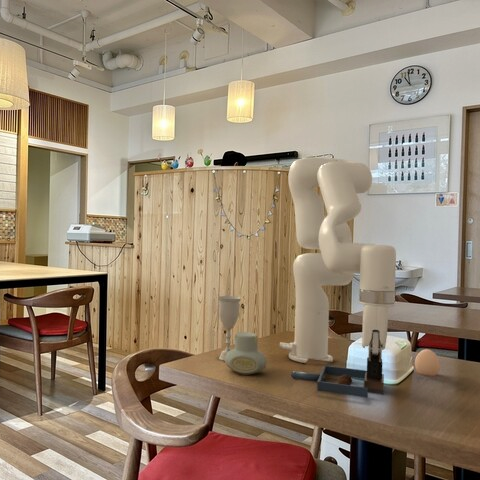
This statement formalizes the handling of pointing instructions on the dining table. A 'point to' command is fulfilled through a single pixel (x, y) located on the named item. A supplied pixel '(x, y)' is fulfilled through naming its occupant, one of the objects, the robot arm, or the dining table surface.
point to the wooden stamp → (374, 385)
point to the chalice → (228, 317)
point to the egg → (427, 363)
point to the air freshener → (245, 355)
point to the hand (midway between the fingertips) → (374, 376)
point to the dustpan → (334, 386)
